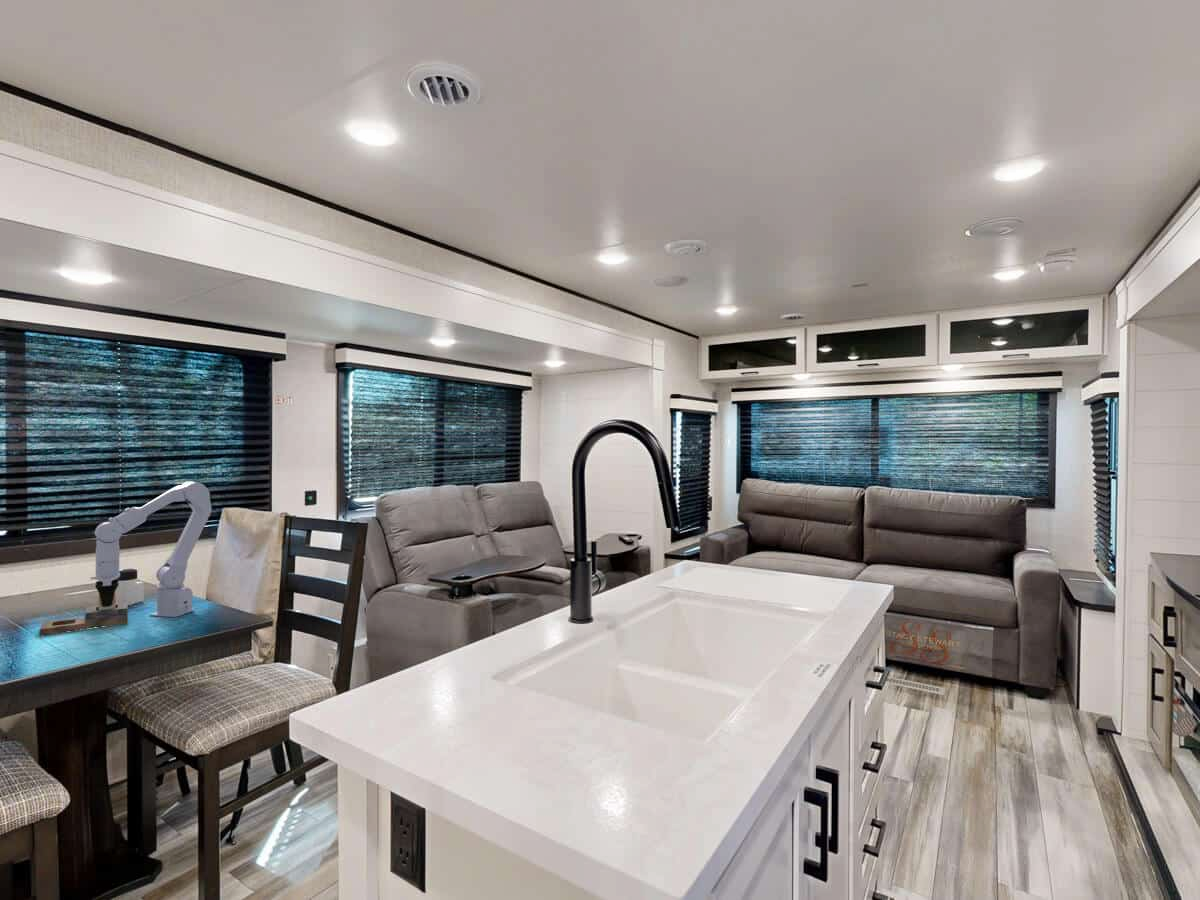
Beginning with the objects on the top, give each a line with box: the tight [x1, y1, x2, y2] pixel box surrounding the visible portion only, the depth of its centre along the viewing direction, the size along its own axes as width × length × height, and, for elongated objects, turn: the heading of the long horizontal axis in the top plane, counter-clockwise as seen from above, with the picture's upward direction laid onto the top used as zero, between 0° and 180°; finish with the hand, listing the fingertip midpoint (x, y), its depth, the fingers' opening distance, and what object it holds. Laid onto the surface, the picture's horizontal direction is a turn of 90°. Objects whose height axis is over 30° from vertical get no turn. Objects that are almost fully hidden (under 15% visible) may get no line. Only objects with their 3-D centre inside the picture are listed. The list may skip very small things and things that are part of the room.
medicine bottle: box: [115, 568, 145, 606], centre depth 209 cm, size 7×7×12 cm
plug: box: [98, 591, 116, 610], centre depth 186 cm, size 4×4×6 cm
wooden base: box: [39, 602, 129, 637], centre depth 183 cm, size 20×9×5 cm, turn 129°
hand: (107, 604), depth 186 cm, fingers closed on plug, 4 cm apart
